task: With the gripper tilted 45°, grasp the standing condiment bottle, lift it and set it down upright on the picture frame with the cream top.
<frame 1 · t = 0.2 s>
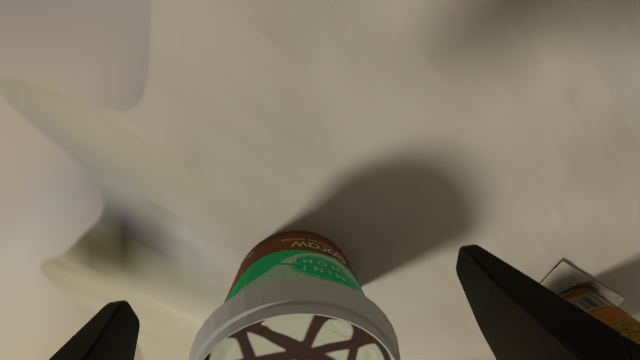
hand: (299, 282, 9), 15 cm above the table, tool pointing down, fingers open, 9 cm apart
condiment: (562, 307, 30), on the table
food container: (301, 251, 26), on the table
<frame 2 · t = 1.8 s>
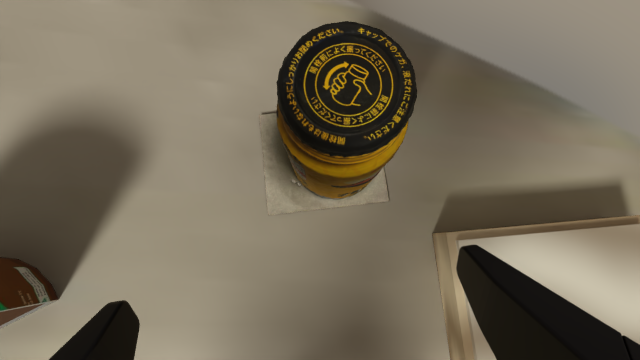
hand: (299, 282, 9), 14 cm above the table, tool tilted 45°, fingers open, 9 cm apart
condiment: (322, 158, 24), on the table
picture frame: (539, 333, 22), on the table
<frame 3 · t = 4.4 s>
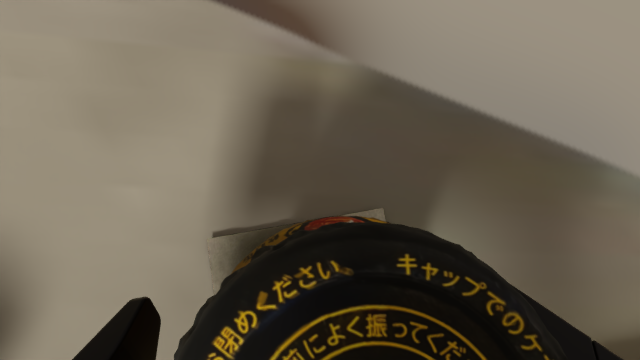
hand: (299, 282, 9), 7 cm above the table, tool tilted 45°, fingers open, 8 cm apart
condiment: (309, 301, 15), on the table, touching gripper
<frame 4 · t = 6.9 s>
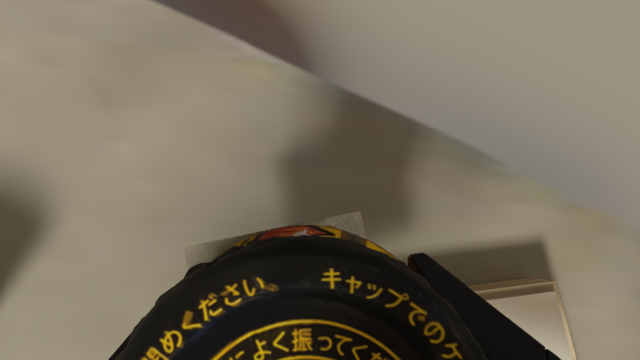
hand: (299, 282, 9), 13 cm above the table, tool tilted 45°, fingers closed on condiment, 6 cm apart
condiment: (289, 306, 15), point 6 cm above the table, touching gripper
when the fingers open (11 cm above the table, at t = 8.8 s): condiment drops 1 cm, resting on picture frame.
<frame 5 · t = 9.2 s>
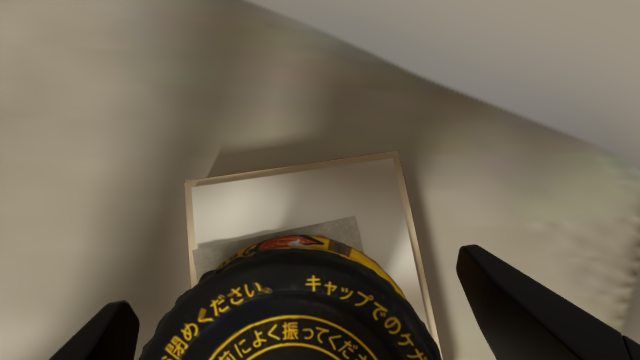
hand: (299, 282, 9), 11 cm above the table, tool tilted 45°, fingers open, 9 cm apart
condiment: (289, 304, 17), point 3 cm above the table, touching picture frame
picture frame: (311, 290, 19), on the table
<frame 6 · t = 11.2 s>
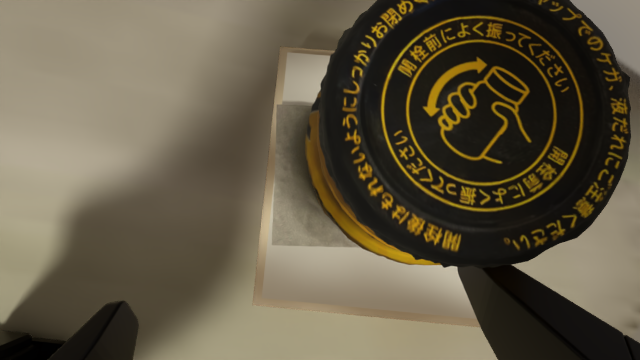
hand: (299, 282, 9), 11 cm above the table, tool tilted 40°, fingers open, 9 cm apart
condiment: (355, 176, 17), point 3 cm above the table, touching gripper
picture frame: (371, 184, 20), on the table
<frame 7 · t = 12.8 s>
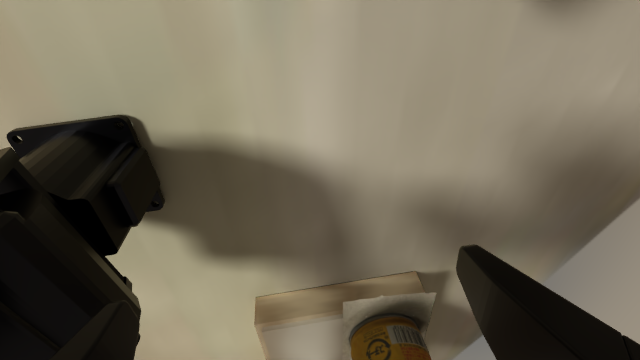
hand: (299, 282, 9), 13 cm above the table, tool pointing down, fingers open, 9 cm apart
condiment: (384, 325, 28), point 3 cm above the table, touching picture frame
picture frame: (341, 325, 32), on the table
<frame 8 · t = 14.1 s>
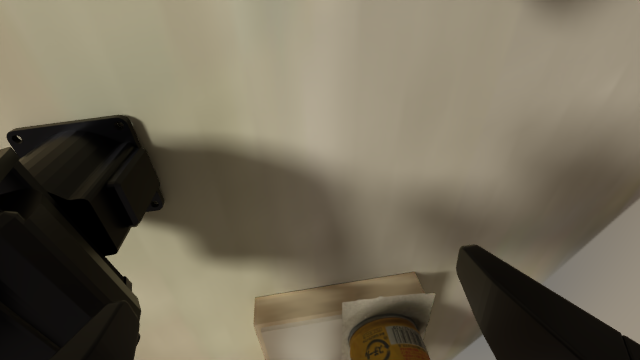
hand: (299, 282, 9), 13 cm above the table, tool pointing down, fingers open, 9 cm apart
condiment: (383, 326, 28), point 3 cm above the table, touching picture frame
picture frame: (340, 326, 32), on the table
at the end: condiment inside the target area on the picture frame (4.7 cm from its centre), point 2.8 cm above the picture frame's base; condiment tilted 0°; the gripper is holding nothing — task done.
